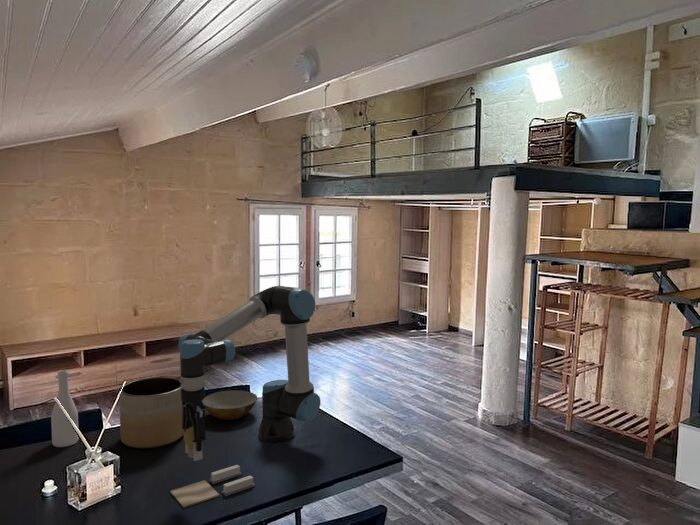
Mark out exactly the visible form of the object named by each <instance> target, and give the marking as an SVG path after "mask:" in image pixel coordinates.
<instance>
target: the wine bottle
mask: <svg viewBox="0 0 700 525" xmlns="http://www.w3.org/2000/svg"><path fill="white" fill-rule="evenodd" d="M68 376H69V370H68V369H60V370H58V371H57V378H58V392H57V396H56V399H58V400H59V401H60V403H61V405H62V406H63V407H64V409H65V410H66V411H67V413H68V414H69V416H70V418H71V419H72V420H73V421H74V423H75V424H76V426H77V427H78V428H79V412H78V410H77V406H76V404H75V403H74V401H73V398H72V395H71V393H70V390H69V378H68ZM50 416H51V417H50V422H51V443H52V446H53V447H55V448H65V447H70V446H72V445H75V444H77V443H78V442H79V440H80V439H79V438H80V436H79V437H78V435H77V433H76V432H75V430H74V429H73V427H72V425H71V424H70V422H69V421H68V419H67V418H66V416H65V415H64V413H63V411H62V410H61V408H60V407H59V405H58V404H57V402H56V401H54V406H53V409H52V413H51V415H50Z"/></svg>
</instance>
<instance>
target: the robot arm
mask: <svg viewBox="0 0 700 525" xmlns="http://www.w3.org/2000/svg"><path fill="white" fill-rule="evenodd" d="M315 309H316V300H315V297H314V295H313V294H312V292H310V291H309V290H308V289H305V288H302V287H293V286H284V285H274V286H270V287H268V288H266V289H263V290H260V291H259V292H257V293H256V294H254V295H252V296H250V298H249V299H248V302H246V303H244V304H243V305H241V306H239V307H237V308H236V309H234V310H232V311H231V312H229V313H228V314H226V315H225V316H223V317H221V318H219V319H217V320H216V321H215V322H213V323H212V324H210V325H208V326H206V327H205V328H203V329H201V330H200V331H198V332H196V333H195V334H184V335H183V336H182V337H180V339H179V341H178V343H177V348H178V351H179V360H180V361H179V363H180V364H179V365H180V379H179V380H180V383H181V388H182V389H181V400H182V429H184V432H185V431H186V430H187V429H188V428H189V427H193V432H194V439H195V440H193V452H194V458H193V462H196V461H201V460H203V441H206V423H205V420H206V419H205V416H206V415H205V414H206V409H202V405H201V403H202V400H203V399H204V398H205V397H206V394H205V393H206V392H205V391H206V390H205V388H206V387H205V385H206V377H205V376H206V374H205V370H206V369H205V368H207V367H210V366H214V365H219V364H224V363H226V362H230V361H232V360H233V359H234V358H235V355H236V347H235V344H234V342H233V341H232V340H230V339H228V338H230V337H231V336H233V335H234V334H236V333H237V332H239V331H241V330H242V329H244V328H245V327H247V326H249V325H250V324H251V323H253V322H255V321H256V320H257V319H264V318H265V317H267V316H270V315H276V316H279V317H280V318H279V319H280V324H281V325H283V326H284V335H285V338H284V339H285V350H286V351H285V352H286V367H287V379H274V380H270V381H267V382H265V383H264V384H263V385H262V391H261V399H262V400H261V401H262V402H261V403H262V406H261V407H262V418H261V422H260V425H259V428H258V438H259V440H261V441H264V442H268V443H280V442H286V441H288V440H291V439H292V438H294V436H295V426H294V423H293V421H292V419H295V420H297V421H300V422H301V421H302V422H310V421H312V420H313V419H314V418H315V417H316V416H317V414H318V413H319V410H320V407H321V398H320V395H318V394H317V393H316V392H315V388H314V384H313V383H312V382H311V381H310V364H309V348H308V331H307V327H308V326H307V325H308V324H309V323H310V321H311V317H313V316H314V312H315V311H316V310H315ZM184 444H185V448H184V449H185V450H184V451H185V454H188V445H187V444H186V443H185V442H184Z"/></svg>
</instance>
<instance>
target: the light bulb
mask: <svg viewBox="0 0 700 525" xmlns="http://www.w3.org/2000/svg"><path fill="white" fill-rule="evenodd" d="M193 440H195V439H194V432H193V427H189V428H188V429H187V430H186V431H185V433H184V434H183V441H184V444H185V443H186V444H187V445H188V453H187V456H188V457H189V458H190V459H194V452H193Z"/></svg>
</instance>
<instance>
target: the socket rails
mask: <svg viewBox="0 0 700 525" xmlns="http://www.w3.org/2000/svg"><path fill="white" fill-rule="evenodd" d="M210 473H211V474H210V477H211V478H209V482H210V483H211V484H212V485H214V484H218V483H220V482H224V481H227V480H230V479H232V478H233V479H234V478H236V477H240V476H242V472H241V467H240V465H239V464H235V465H232V466H229V467H228V466H227V467H225V468H222V469H218V470H216V471H213V472H210ZM254 487H256V484H255V483H254V477H253V475H248V476H245V477H242V478H238V479H235V480H233V481H229V482H227V483H223V490H221V493H222V495H224V496H225V497H228V496H230V495H234V494H236V493H240V492H242V491H245V490H248V489H252V488H254Z"/></svg>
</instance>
